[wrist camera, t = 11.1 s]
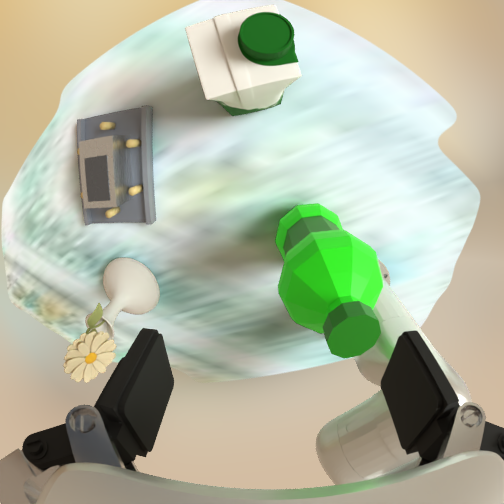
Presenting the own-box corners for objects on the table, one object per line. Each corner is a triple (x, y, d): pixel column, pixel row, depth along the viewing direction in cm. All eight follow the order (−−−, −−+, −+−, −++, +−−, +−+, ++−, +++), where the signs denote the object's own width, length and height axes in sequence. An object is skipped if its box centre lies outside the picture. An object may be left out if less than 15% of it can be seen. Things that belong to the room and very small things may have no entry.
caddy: (156, 220, 41) (146, 228, 38) (91, 221, 42) (79, 228, 38) (152, 107, 34) (141, 104, 31) (84, 119, 35) (70, 119, 31)
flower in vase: (146, 318, 49) (92, 420, 26) (100, 284, 47) (26, 371, 24) (178, 273, 45) (118, 387, 22) (125, 233, 42) (30, 318, 19)
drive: (133, 198, 39) (116, 207, 34) (102, 200, 39) (83, 208, 34) (130, 135, 35) (112, 135, 30) (98, 140, 35) (78, 141, 30)
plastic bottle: (289, 269, 44) (312, 396, 21) (261, 212, 40) (263, 310, 17) (345, 245, 42) (417, 353, 19) (323, 185, 38) (404, 250, 15)
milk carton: (288, 108, 34) (315, 76, 16) (226, 124, 35) (192, 106, 17) (271, 55, 31) (280, -14, 13) (210, 71, 32) (167, 15, 14)
